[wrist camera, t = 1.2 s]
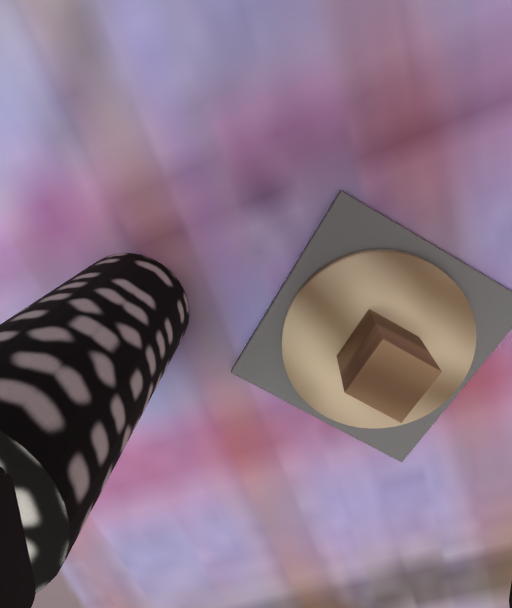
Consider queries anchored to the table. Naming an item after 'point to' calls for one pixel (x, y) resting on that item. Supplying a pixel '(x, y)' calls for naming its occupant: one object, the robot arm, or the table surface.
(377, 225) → the mat
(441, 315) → the lid
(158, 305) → the polka dot cylinder
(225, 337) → the table surface
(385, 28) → the table surface
